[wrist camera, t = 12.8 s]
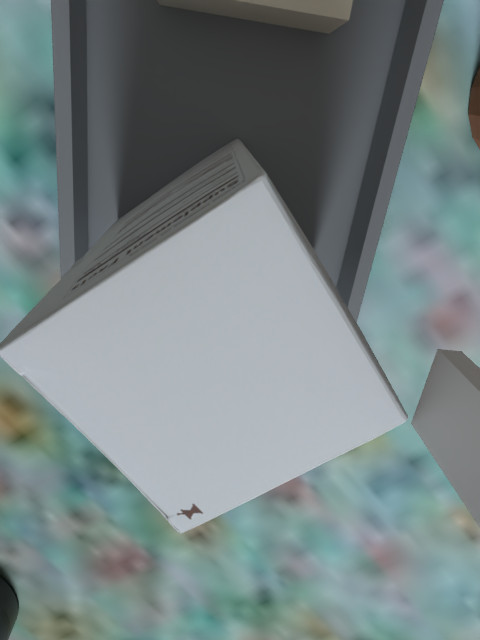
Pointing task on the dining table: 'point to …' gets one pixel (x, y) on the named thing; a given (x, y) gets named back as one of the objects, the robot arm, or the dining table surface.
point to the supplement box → (206, 346)
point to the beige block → (276, 11)
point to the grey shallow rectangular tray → (237, 114)
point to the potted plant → (475, 109)
